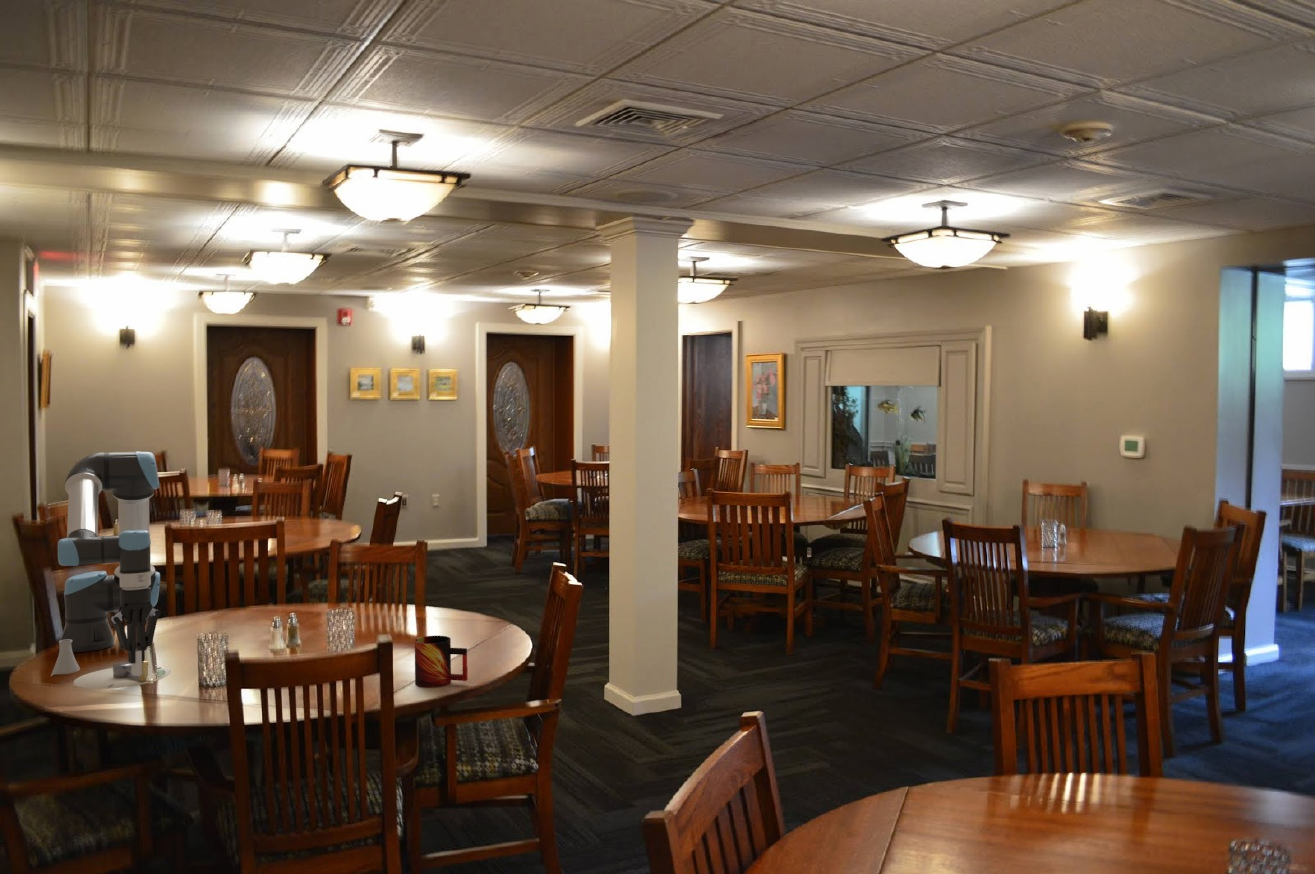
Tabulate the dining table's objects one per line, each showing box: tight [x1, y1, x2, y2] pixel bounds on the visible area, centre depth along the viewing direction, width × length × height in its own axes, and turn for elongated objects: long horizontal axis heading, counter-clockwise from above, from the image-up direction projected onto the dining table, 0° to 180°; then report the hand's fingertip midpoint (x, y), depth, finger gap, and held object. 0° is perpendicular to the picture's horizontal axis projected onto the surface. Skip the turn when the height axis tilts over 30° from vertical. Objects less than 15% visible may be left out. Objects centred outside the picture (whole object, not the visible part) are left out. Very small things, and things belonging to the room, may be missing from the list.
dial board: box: [73, 665, 172, 690], centre depth 278 cm, size 24×24×1 cm
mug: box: [414, 635, 469, 689], centre depth 275 cm, size 10×14×12 cm
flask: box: [50, 639, 81, 677], centre depth 284 cm, size 7×7×10 cm
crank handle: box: [112, 660, 149, 682], centre depth 276 cm, size 14×5×5 cm, turn 58°
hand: (136, 674), depth 271 cm, fingers closed
